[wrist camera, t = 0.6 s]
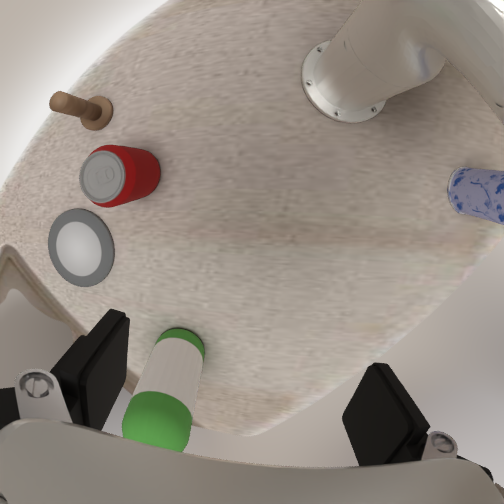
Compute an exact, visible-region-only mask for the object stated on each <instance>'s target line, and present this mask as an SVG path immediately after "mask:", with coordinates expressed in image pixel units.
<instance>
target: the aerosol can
mask: <svg viewBox="0 0 504 504" xmlns="http://www.w3.org/2000/svg"><path fill="white" fill-rule="evenodd" d="M447 191H448V198H449V202H450V204H451V206H452V207H453V209H454V210H455V211H457V212H458V213H461V214H469V215H472V216H476V217H479V218H483V219H486V220H489V221H493V222H496V223H499V224H502V225H504V171H496V170H486V169H474V168H468V167H459V168H457V169H456V170H454V172H453V173H452V174H451V176H450V179H449V181H448V188H447Z"/></svg>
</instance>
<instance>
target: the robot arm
mask: <svg viewBox="0 0 504 504" xmlns="http://www.w3.org/2000/svg"><path fill="white" fill-rule="evenodd" d="M318 51H320V52H318ZM446 59H447V60H448V61H449V62H450V63H451V64H452V65H453V66H454V67H455V68H456V69H457V70H458V71H460V72H461V73H462V74H463V75H464V77H465V78H466V79H467V80H468V81H469V82H470V83H471V85H472V86H473V87H474V88H475V89H476V90H477V92H478V93H479V94H480V95H481V96H482V98H483V99H484V100H485V101H486V103H487V104H488V105H489V107H490V108H491V109H492V110H493V112H494V113H495V114H496V116H497V117H498V118H499V120H500V121H501V122H502V123H503V125H504V0H362V1H361V2H360V4H359V5H358V7H357V8H356V9H355V10H354V12H353V13H352V14H351V16H350V17H349V18H348V20H347V21H346V22H345V24H344V25H343V26H342V28H341V29H340V30H339V32H338V33H337V34H336V36H335V37H334V38H333V40H330V41H326V42H323V43H321V44H319V45H317V46H316V47H314V48H313V49H312V50H311V51H310V52H309V54H308V55H307V56H306V58H305V60H304V63H303V66H302V71H301V79H302V85H303V88H304V91H305V93H306V95H307V97H308V99H309V100H310V101H311V103H312V104H313V105H314V106H315V107H316V108H317V109H318V110H319V111H320V112H321V113H323V114H324V115H326V116H327V117H329V118H332V119H334V120H336V121H340V122H344V123H359V122H363V121H366V120H368V119H371V118H373V117H374V116H376V115H377V114H378V113H379V112H380V111H381V110H382V108H383V107H384V105H385V103H386V101H387V99H388V98H390V97H393V96H395V95H397V94H400V93H402V92H405V91H407V90H409V89H412V88H414V87H417V86H419V85H422V84H424V83H427V82H428V81H430V80H432V79H433V78H434V77H436V76H437V75H438V74H439V72H440V71H441V70H442V68H443V66H444V64H445V62H446ZM307 83H309V84H310V86H308V85H307ZM371 109H372V110H373V112H372V111H371ZM335 113H337V116H335ZM129 325H130V319H129V318H127V317H126V314H125V313H124V312H121V311H117V310H114V309H110V310H109V311H108V312H107V313H106V314H105V315H104V316H103V317H102V319H101V320H100V321H99V322H98V323H97V324H96V326H95V327H94V328H93V329H92V330H91V331H90V333H89V334H88V335H87V336H84V335H81V336H80V337H79V338H78V339H77V340H76V341H75V342H74V344H73V345H72V346H71V347H70V348H69V349H68V351H67V352H66V353H65V354H64V355H63V356H62V358H61V359H60V360H59V361H58V362H57V364H56V365H55V366H54V367H53V368H52V369H51V371H50V372H47V371H45V370H41V369H28V370H25V371H23V372H21V373H20V374H19V375H18V376H17V377H16V379H15V387H12V388H3V389H0V504H504V488H503V487H501V486H500V485H499V484H497V483H495V484H494V483H493V477H492V474H491V472H490V470H489V469H487V468H485V467H482V466H480V465H478V464H476V463H474V462H471V461H469V460H467V459H465V458H463V457H461V456H458V455H457V450H458V448H457V444H456V442H455V440H454V439H453V438H452V437H451V436H449V435H448V434H446V433H444V432H440V431H434V432H431V433H430V434H429V435H428V434H427V433H426V432H427V431H428V429H429V428H430V425H429V423H428V422H427V421H426V419H425V417H424V416H423V414H422V413H421V411H420V410H419V408H418V407H417V406H416V404H415V403H414V401H413V400H412V398H411V397H410V395H409V394H408V392H407V391H406V390H405V388H404V386H403V385H402V384H401V382H400V381H399V380H398V378H397V376H396V375H395V374H394V372H393V371H392V369H391V368H390V367H389V365H388V364H385V363H373V364H372V365H371V366H369V367H368V368H367V370H366V372H365V374H364V376H363V378H362V380H361V382H360V383H359V385H358V387H357V389H356V391H355V393H354V395H353V397H352V399H351V400H350V402H349V404H348V406H347V407H346V409H345V411H344V413H343V416H342V421H343V424H344V426H345V429H346V432H347V434H348V437H349V439H350V442H351V445H352V448H353V450H354V453H355V456H356V458H357V461H358V463H359V466H357V467H356V466H355V467H292V466H276V465H264V464H253V463H244V462H236V461H228V460H222V459H215V458H209V457H203V456H198V455H193V454H188V453H183V452H179V451H174V450H170V449H165V448H161V447H157V446H153V445H149V444H145V443H142V442H138V441H134V440H131V439H127V438H124V437H120V436H117V435H113V434H110V433H107V432H103V431H101V430H102V428H103V426H104V424H105V422H106V420H107V418H108V416H109V413H110V411H111V409H112V407H113V405H114V403H115V401H116V399H117V397H118V395H119V393H120V391H121V388H122V387H123V385H124V382H125V379H126V370H127V352H128V337H129ZM6 501H7V502H8V503H7V502H6Z"/></svg>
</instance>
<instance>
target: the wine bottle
mask: <svg viewBox="0 0 504 504" xmlns="http://www.w3.org/2000/svg"><path fill="white" fill-rule="evenodd" d="M204 354H205V353H204V347H203V345H202V343H201V341H200V340H199V338H198V337H197V336H196V335H194V334H193V333H192V332H189V331H187V330H183V329H172V330H168V331H166V332H165V333H163V334H162V335H161V336H160V337H159V338H158V340H157V342H156V344H155V346H154V348H153V350H152V353H151V355H150V357H149V359H148V361H147V364H146V366H145V368H144V370H143V373H142V375H141V377H140V379H139V382H138V384H137V386H136V388H135V391H134V393H133V395H132V398H131V401H130V403H129V405H128V408H127V410H126V412H125V415H124V418H123V421H122V432H123V437H124V438H127V439H131V440H134V441H138V442H142V443H145V444H149V445H153V446H157V447H161V448H165V449H170V450H174V451H179V452H182V451H183V450H184V448H185V447H186V445H187V443H188V440H189V436H190V430H191V425H192V420H193V415H194V409H195V404H196V398H197V393H198V388H199V383H200V377H201V372H202V367H203V361H204Z"/></svg>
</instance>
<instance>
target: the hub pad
mask: <svg viewBox="0 0 504 504" xmlns="http://www.w3.org/2000/svg"><path fill="white" fill-rule="evenodd" d="M48 249H49V254H50V258H51V261H52V263H53V265H54V267H55V268H56V270H57V271H58V273H59V274H60V275H61V276H62V277H63V278H64V279H65V280H66V281H68V282H70V283H71V284H73V285H76V286H80V287H90V286H94V285H96V284H98V283H99V282H101V281H102V280H103V279H104V278H105V277H106V276H107V275H108V274H109V272H110V270H111V268H112V265H113V261H114V243H113V239H112V236H111V233H110V231H109V229H108V228H107V226H106V224H105V223H104V222H103V221H102V220H101V219H100V218H99V217H98V216H97V215H96V214H94V213H92V212H91V211H88V210H85V209H72V210H69V211H66V212H64V213H62V214H61V215H60V216H58V217H57V219H56V220H55V221H54V223H53V224H52V226H51V229H50V232H49V237H48Z"/></svg>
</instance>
